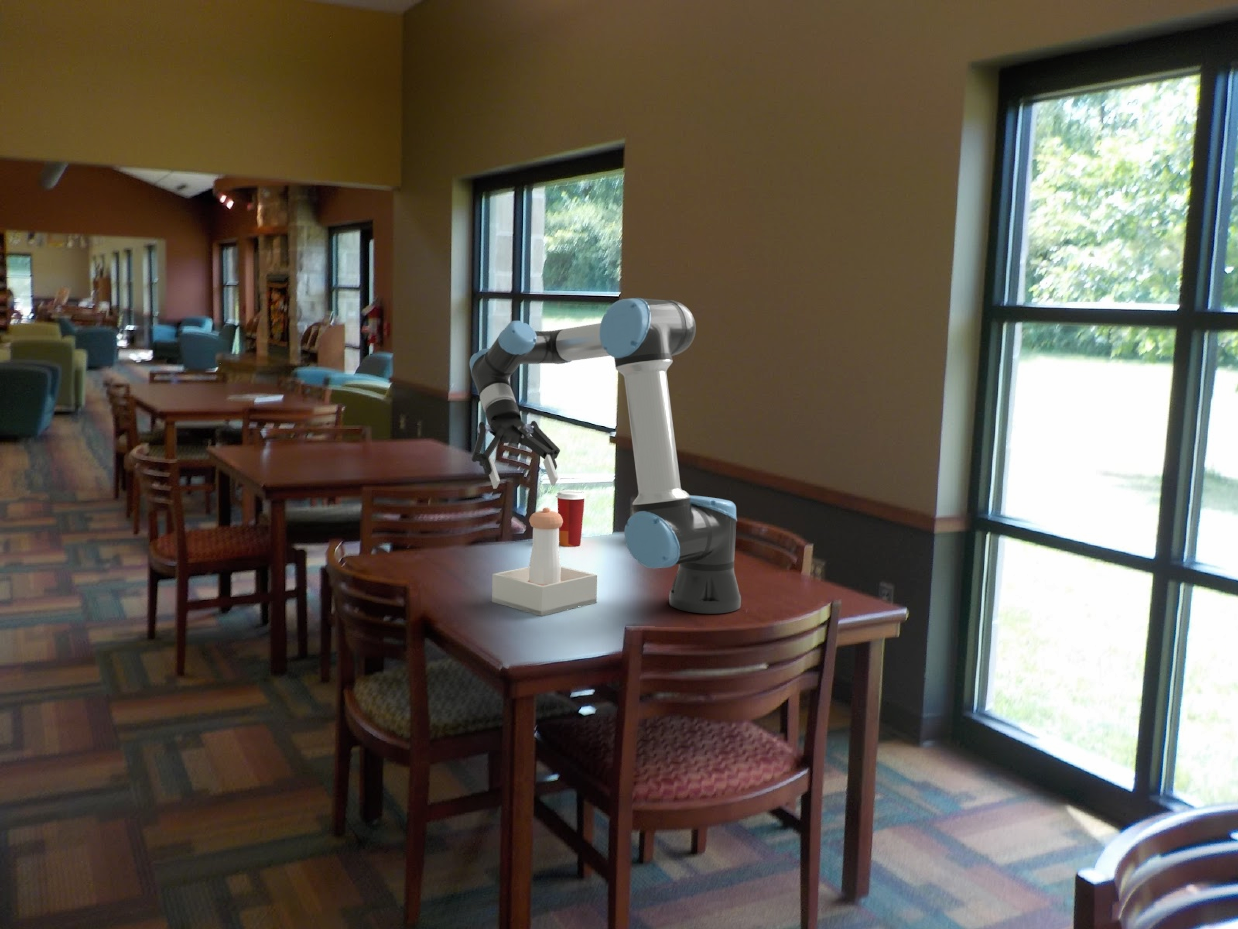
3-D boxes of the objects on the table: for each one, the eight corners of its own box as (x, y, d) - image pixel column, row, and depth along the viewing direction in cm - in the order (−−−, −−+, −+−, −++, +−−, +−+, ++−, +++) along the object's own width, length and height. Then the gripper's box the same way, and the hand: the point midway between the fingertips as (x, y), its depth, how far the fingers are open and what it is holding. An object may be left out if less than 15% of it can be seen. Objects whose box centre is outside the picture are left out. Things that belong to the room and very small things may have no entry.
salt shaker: (560, 602, 235) (562, 511, 232) (525, 601, 235) (527, 510, 232) (562, 593, 242) (565, 505, 239) (528, 592, 242) (530, 504, 240)
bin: (596, 602, 239) (597, 575, 239) (541, 616, 228) (542, 587, 227) (546, 589, 249) (547, 562, 249) (492, 601, 238) (492, 574, 237)
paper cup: (586, 542, 301) (587, 490, 299) (582, 548, 293) (583, 495, 292) (557, 540, 302) (558, 489, 300) (552, 546, 294) (553, 493, 292)
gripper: (546, 417, 264) (572, 490, 253) (443, 420, 253) (467, 496, 242) (555, 396, 259) (583, 470, 248) (452, 398, 247) (476, 475, 236)
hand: (526, 483), depth 245 cm, fingers open, 13 cm apart
